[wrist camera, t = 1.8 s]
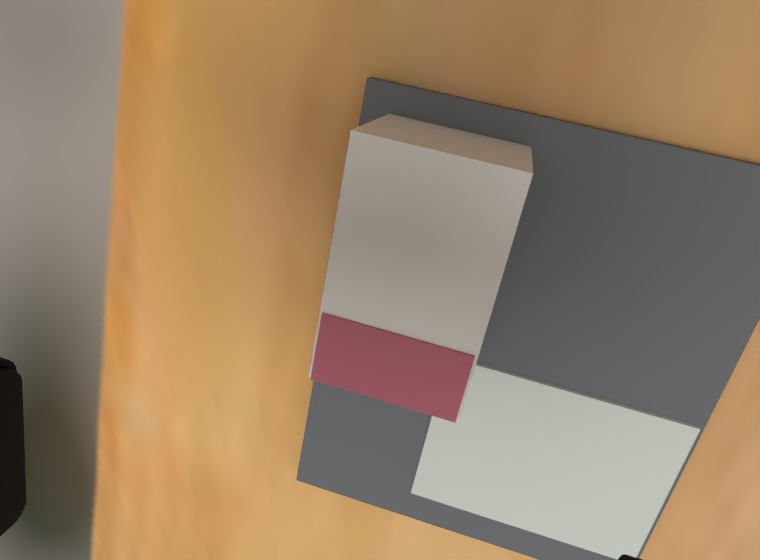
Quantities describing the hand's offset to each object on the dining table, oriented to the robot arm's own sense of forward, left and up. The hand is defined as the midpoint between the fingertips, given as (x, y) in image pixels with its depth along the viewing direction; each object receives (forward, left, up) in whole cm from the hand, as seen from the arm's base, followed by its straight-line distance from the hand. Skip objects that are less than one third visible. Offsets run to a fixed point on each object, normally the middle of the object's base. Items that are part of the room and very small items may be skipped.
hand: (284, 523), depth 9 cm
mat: (+4, +4, -15) cm, 16 cm away
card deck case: (0, 0, -14) cm, 14 cm away
